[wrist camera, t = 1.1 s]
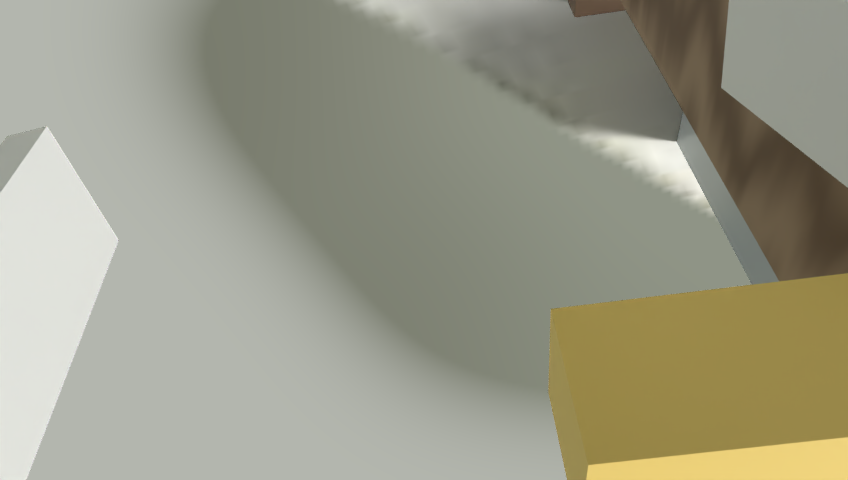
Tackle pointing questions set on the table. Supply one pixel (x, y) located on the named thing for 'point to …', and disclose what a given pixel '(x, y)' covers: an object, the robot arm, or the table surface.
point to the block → (705, 384)
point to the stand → (742, 139)
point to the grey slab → (724, 207)
